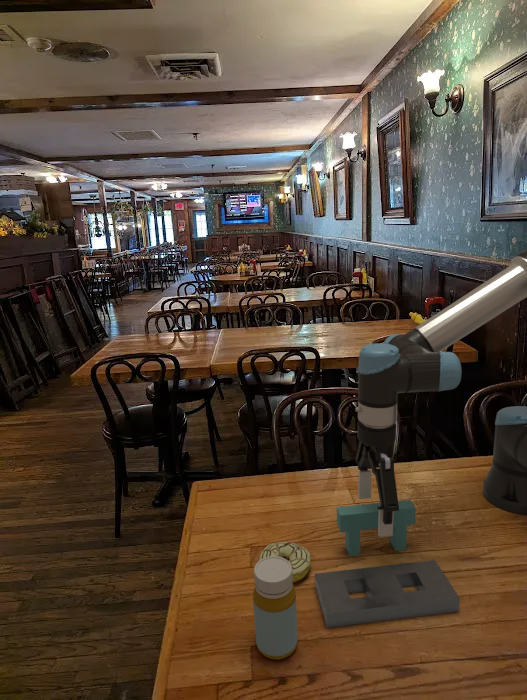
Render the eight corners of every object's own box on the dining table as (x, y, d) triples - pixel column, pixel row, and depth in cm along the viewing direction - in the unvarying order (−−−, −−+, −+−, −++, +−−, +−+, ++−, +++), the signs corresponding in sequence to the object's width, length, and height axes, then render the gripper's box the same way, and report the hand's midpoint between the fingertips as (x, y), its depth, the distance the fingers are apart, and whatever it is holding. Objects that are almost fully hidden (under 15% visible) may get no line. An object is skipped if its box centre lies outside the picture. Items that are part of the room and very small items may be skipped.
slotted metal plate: (434, 572, 96) (434, 559, 95) (458, 611, 86) (459, 597, 86) (315, 586, 94) (314, 573, 93) (326, 628, 84) (326, 613, 84)
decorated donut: (297, 547, 106) (296, 532, 105) (320, 578, 96) (319, 562, 95) (252, 560, 103) (251, 545, 102) (271, 594, 93) (270, 578, 92)
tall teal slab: (408, 540, 106) (410, 499, 103) (414, 548, 103) (415, 507, 101) (337, 548, 105) (336, 507, 102) (340, 557, 102) (340, 515, 99)
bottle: (294, 665, 78) (291, 586, 74) (252, 659, 79) (246, 582, 75) (300, 629, 84) (297, 556, 80) (260, 625, 86) (256, 552, 82)
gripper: (342, 400, 108) (341, 485, 114) (379, 451, 84) (376, 556, 89) (375, 398, 109) (372, 483, 114) (420, 448, 85) (415, 552, 90)
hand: (374, 515), depth 102 cm, fingers open, 13 cm apart
